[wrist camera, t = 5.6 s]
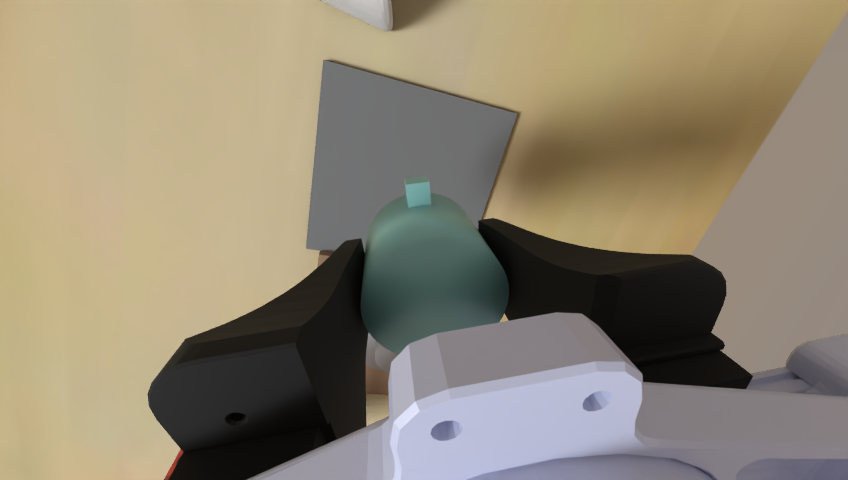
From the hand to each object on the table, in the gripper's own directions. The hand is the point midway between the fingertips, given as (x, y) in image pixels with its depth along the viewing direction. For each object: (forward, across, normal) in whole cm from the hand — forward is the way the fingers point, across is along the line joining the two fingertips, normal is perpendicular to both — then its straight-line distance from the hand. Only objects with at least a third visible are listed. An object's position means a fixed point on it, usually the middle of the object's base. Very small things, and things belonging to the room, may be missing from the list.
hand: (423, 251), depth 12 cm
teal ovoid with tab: (+1, 0, 0) cm, 1 cm away
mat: (+10, 0, 0) cm, 10 cm away
